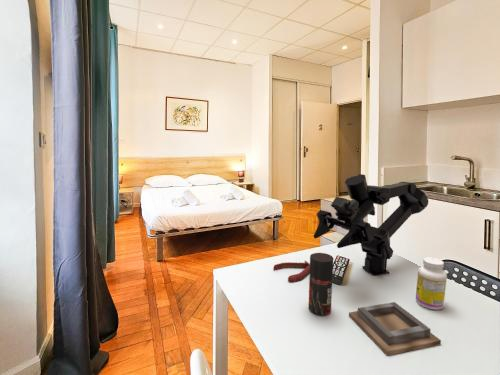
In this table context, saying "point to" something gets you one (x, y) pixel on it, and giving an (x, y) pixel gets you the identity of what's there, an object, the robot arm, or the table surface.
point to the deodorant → (320, 283)
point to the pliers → (295, 265)
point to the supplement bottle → (431, 284)
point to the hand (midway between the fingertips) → (325, 241)
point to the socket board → (393, 328)
